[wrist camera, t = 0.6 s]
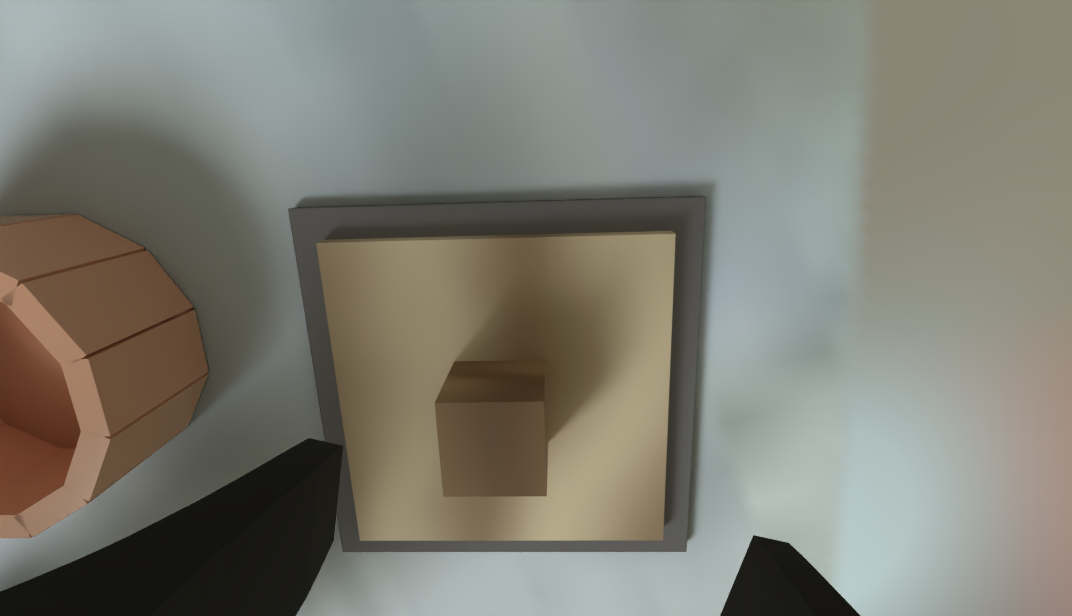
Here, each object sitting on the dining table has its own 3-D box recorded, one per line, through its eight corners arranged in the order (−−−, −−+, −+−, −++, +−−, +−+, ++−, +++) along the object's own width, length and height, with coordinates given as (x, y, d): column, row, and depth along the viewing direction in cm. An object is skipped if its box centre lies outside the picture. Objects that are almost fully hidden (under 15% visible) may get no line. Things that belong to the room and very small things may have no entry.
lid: (365, 529, 21) (327, 606, 17) (324, 239, 18) (267, 263, 14) (659, 529, 20) (681, 608, 17) (671, 230, 17) (700, 253, 14)
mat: (346, 544, 22) (342, 551, 21) (294, 207, 18) (288, 208, 17) (683, 544, 21) (686, 551, 21) (702, 195, 17) (706, 197, 17)
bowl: (-5, 456, 21) (-150, 538, 17) (-89, 218, 18) (-287, 241, 14) (226, 454, 21) (139, 537, 16) (173, 210, 18) (52, 233, 14)
